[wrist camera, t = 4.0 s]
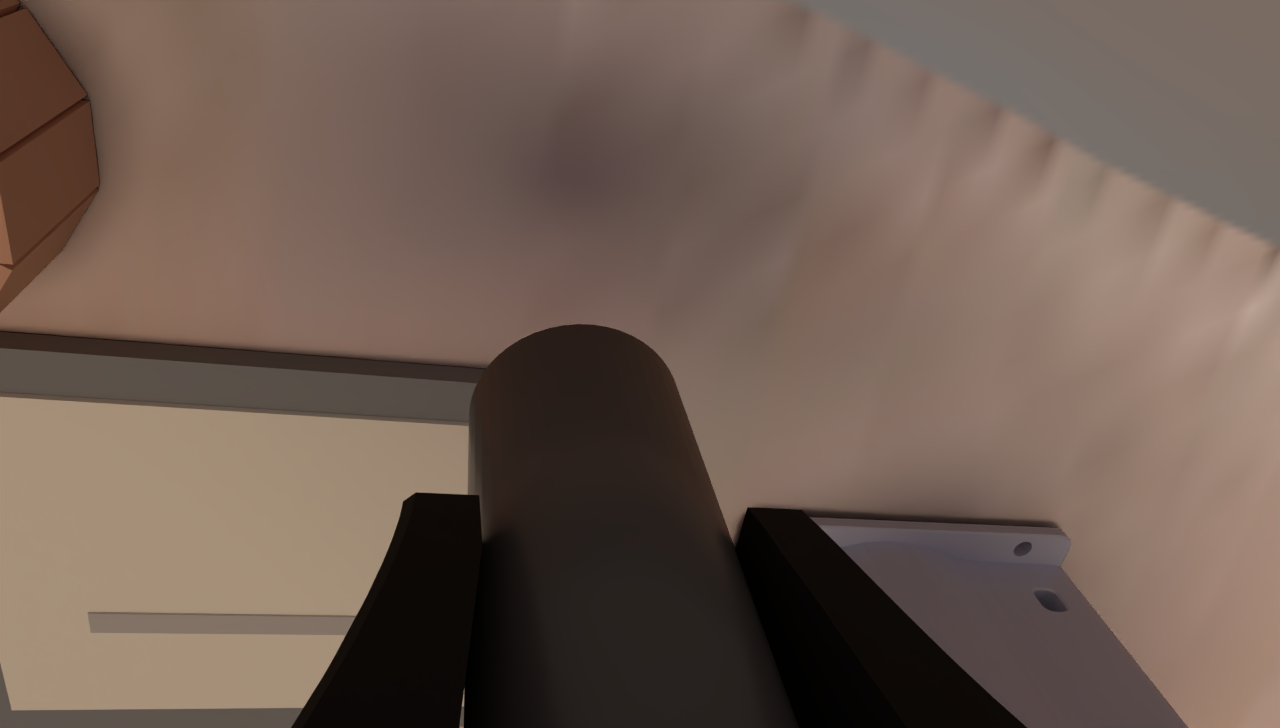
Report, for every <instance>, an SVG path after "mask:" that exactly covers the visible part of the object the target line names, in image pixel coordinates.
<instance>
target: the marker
mask: <svg viewBox="0 0 1280 728" xmlns="http://www.w3.org/2000/svg"><path fill="white" fill-rule="evenodd" d="M468 495H479V499H480V512H481V529H482V552H481V560H480V567H479V575H478V583H477V591H476V599H475V607H474V615H473V623H472V631H471V639H470V646H469V654H468V662H467V670H466V678H465V686H464V728H799V726H798V723H797V720H796V718H795V715H794V712H793V709H792V706H791V704H790V701H789V698H788V695H787V692H786V690H785V687H784V684H783V681H782V679H781V676H780V673H779V670H778V667H777V665H776V662H775V659H774V656H773V654H772V651H771V648H770V645H769V642H768V640H767V637H766V634H765V631H764V628H763V626H762V623H761V620H760V617H759V615H758V612H757V609H756V606H755V603H754V601H753V598H752V595H751V592H750V589H749V587H748V584H747V581H746V578H745V576H744V573H743V570H742V567H741V564H740V562H739V559H738V556H737V553H736V550H735V548H734V545H733V542H732V539H731V537H730V534H729V531H728V528H727V525H726V523H725V520H724V517H723V514H722V511H721V509H720V506H719V503H718V500H717V498H716V495H715V492H714V489H713V486H712V484H711V481H710V478H709V475H708V472H707V470H706V467H705V464H704V461H703V459H702V456H701V453H700V450H699V447H698V445H697V442H696V439H695V436H694V434H693V431H692V428H691V425H690V422H689V420H688V417H687V414H686V411H685V408H684V406H683V403H682V400H681V397H680V395H679V392H678V389H677V386H676V383H675V381H674V378H673V376H672V374H671V372H670V370H669V368H668V367H667V366H666V364H665V363H664V361H663V360H662V359H661V358H660V357H659V355H658V354H657V353H656V352H655V351H654V350H653V349H651V348H650V347H649V346H647V345H646V344H645V343H644V342H642V341H640V340H638V339H637V338H635V337H633V336H631V335H629V334H627V333H624V332H622V331H619V330H616V329H612V328H608V327H604V326H597V325H583V324H576V325H564V326H558V327H553V328H549V329H545V330H542V331H539V332H536V333H534V334H531V335H529V336H527V337H525V338H523V339H521V340H519V341H518V342H516V343H514V344H513V345H511V346H509V347H508V348H507V349H506V350H504V351H503V352H502V353H501V354H499V355H498V356H497V357H496V358H495V359H494V360H493V361H492V362H491V363H490V365H489V366H488V367H487V368H486V370H485V371H484V373H483V374H482V375H481V377H480V379H479V381H478V383H477V385H476V387H475V389H474V392H473V395H472V398H471V403H470V408H469V438H468Z"/></svg>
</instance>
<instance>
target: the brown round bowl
mask: <svg viewBox="0 0 1280 728" xmlns="http://www.w3.org/2000/svg"><path fill="white" fill-rule="evenodd" d="M19 4H20V2H19V1H18V0H0V312H1V311H2V310H3V309H4V308H5V307H6V306H7V305H8V304H9V303H10V302H11V301H12V300H13V299H14V298H15V297H16V296H17V295H18V294H19V293H20V292H21V291H22V290H23V289H24V288H25V287H26V286H27V285H28V284H29V283H30V282H31V281H32V280H33V279H34V278H35V277H36V276H37V275H38V274H39V273H40V272H41V271H42V270H43V269H44V268H45V267H46V266H47V265H48V264H49V263H50V262H51V261H52V260H53V259H54V258H55V257H56V256H57V255H58V254H59V253H60V252H61V251H62V250H63V248H64V247H65V245H66V243H67V242H68V240H69V238H70V237H71V235H72V233H73V232H74V230H75V228H76V226H77V225H78V223H79V221H80V220H81V218H82V216H83V215H84V213H85V211H86V210H87V208H88V206H89V205H90V203H91V201H92V200H93V198H94V196H95V195H96V193H97V191H98V190H99V189H97V188H96V187H97V186H98V185H99V184H100V182H99V174H98V166H97V157H96V149H95V140H94V132H93V124H92V115H91V107H90V101H85V100H81V99H82V98H84V97H85V96H87V94H86V92H85V91H84V89H83V88H82V87H81V85H80V84H79V82H78V81H77V79H76V78H75V77H74V75H73V74H72V72H71V71H70V69H69V68H68V67H67V65H66V64H65V62H64V61H63V59H62V58H61V57H60V55H59V54H58V52H57V51H56V49H55V48H54V47H53V45H52V44H51V42H50V41H49V39H48V38H47V37H46V35H45V34H44V32H43V31H42V29H41V28H40V27H39V25H38V24H37V22H36V21H35V19H34V18H33V17H32V15H31V14H30V12H29V11H28V9H27V8H25V9H22V10H19V11H17V12H16V10H17V8H18V6H19Z"/></svg>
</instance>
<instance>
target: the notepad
mask: <svg viewBox="0 0 1280 728" xmlns="http://www.w3.org/2000/svg"><path fill="white" fill-rule="evenodd" d="M485 370H486V369H476V368H463V367H450V366H438V365H425V364H412V363H399V362H386V361H373V360H360V359H347V358H334V357H321V356H308V355H295V354H282V353H269V352H256V351H243V350H230V349H217V348H204V347H192V346H179V345H166V344H153V343H140V342H127V341H114V340H101V339H88V338H75V337H62V336H49V335H36V334H23V333H10V332H0V728H291V727H292V725H293V724H294V722H295V720H296V719H297V717H298V716H299V714H300V712H301V711H302V709H303V708H304V706H305V704H306V703H307V701H308V700H309V698H310V696H311V695H312V693H313V692H314V690H315V688H316V687H317V685H318V684H319V682H320V680H321V679H322V677H323V675H324V674H325V672H326V670H327V669H328V667H329V665H330V663H331V662H332V660H333V658H334V656H335V655H336V653H337V651H338V649H339V647H340V645H341V643H342V642H343V640H344V638H345V636H346V634H347V632H348V630H349V628H350V627H351V625H352V623H353V621H354V619H355V617H356V615H357V614H358V612H359V610H360V608H361V606H362V604H363V602H364V600H365V599H366V597H367V595H368V593H369V590H370V588H371V586H372V584H373V582H374V580H375V578H376V575H377V573H378V571H379V569H380V567H381V565H382V562H383V560H384V558H385V555H386V553H387V551H388V548H389V546H390V543H391V541H392V538H393V535H394V532H395V529H396V526H397V524H398V521H399V517H400V513H401V509H402V504H403V501H404V500H406V499H407V498H409V497H410V496H411V495H413V494H414V493H416V492H419V493H441V494H464V495H468V438H469V408H470V403H471V398H472V395H473V392H474V389H475V387H476V385H477V383H478V381H479V379H480V377H481V375H482V374H483V373H484V371H485ZM459 726H464V694H463V702H462V710H461V717H460V725H459Z"/></svg>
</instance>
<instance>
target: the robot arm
mask: <svg viewBox="0 0 1280 728" xmlns="http://www.w3.org/2000/svg"><path fill="white" fill-rule="evenodd" d="M1070 546H1071V541H1070V539H1069V538H1068V537H1067V535H1066V534H1065V533H1064V532H1063V531H1062V530H1061V529H1058V528H1049V527H1025V526H1002V525H979V524H956V523H933V522H909V521H886V520H863V519H840V518H816V517H809V516H808V515H807V514H806V513H804V512H803V511H802V510H794V509H772V508H750V507H748V508H747V512H746V515H745V518H744V521H743V524H742V528H741V530H740V534H739V537H738V540H737V543H736V547H735V550H736V553H737V556H738V559H739V562H740V564H741V567H742V570H743V573H744V576H745V578H746V581H747V584H748V587H749V589H750V592H751V595H752V598H753V601H754V603H755V606H756V609H757V612H758V615H759V617H760V620H761V623H762V626H763V628H764V631H765V634H766V637H767V640H768V642H769V645H770V648H771V651H772V654H773V656H774V659H775V662H776V665H777V667H778V670H779V673H780V676H781V679H782V681H783V684H784V687H785V690H786V692H787V695H788V698H789V701H790V704H791V706H792V709H793V712H794V715H795V718H796V720H797V723H798V726H799V728H1188V727H1187V725H1186V724H1185V723H1184V722H1183V720H1182V719H1181V718H1180V717H1179V715H1178V714H1177V713H1176V712H1175V710H1174V709H1173V708H1172V707H1171V705H1170V704H1169V703H1168V702H1167V700H1166V699H1165V698H1164V697H1163V695H1162V694H1161V693H1160V691H1159V690H1158V689H1157V688H1156V686H1155V685H1154V684H1153V683H1152V681H1151V680H1150V679H1149V678H1148V676H1147V675H1146V674H1145V673H1144V671H1143V670H1142V669H1141V668H1140V666H1139V665H1138V664H1137V663H1136V661H1135V660H1134V659H1133V657H1132V656H1131V655H1130V654H1129V652H1128V651H1127V650H1126V649H1125V647H1124V646H1123V645H1122V644H1121V642H1120V641H1119V640H1118V639H1117V637H1116V636H1115V635H1114V634H1113V632H1112V631H1111V630H1110V629H1109V627H1108V626H1107V625H1106V624H1105V622H1104V621H1103V620H1102V618H1101V617H1100V616H1099V615H1098V613H1097V612H1096V611H1095V610H1094V608H1093V607H1092V606H1091V605H1090V603H1089V602H1088V601H1087V600H1086V598H1085V597H1084V596H1083V595H1082V593H1081V592H1080V591H1079V590H1078V588H1077V587H1076V586H1075V584H1074V583H1073V582H1072V581H1071V579H1070V578H1069V577H1068V576H1067V574H1066V573H1065V572H1064V571H1063V569H1062V568H1061V567H1060V566H1061V564H1062V562H1063V560H1064V559H1065V557H1066V555H1067V553H1068V551H1069V549H1070ZM481 552H482V529H481V512H480V499H479V495H464V494H441V493H419V492H416V493H414V494H413V495H411V496H410V497H409V498H407V499H406V500H404V501H403V504H402V509H401V513H400V517H399V521H398V524H397V526H396V529H395V532H394V535H393V538H392V541H391V543H390V546H389V548H388V551H387V553H386V555H385V558H384V560H383V562H382V565H381V567H380V569H379V571H378V573H377V575H376V578H375V580H374V582H373V584H372V586H371V588H370V590H369V593H368V595H367V597H366V599H365V600H364V602H363V604H362V606H361V608H360V610H359V612H358V614H357V615H356V617H355V619H354V621H353V623H352V625H351V627H350V628H349V630H348V632H347V634H346V636H345V638H344V640H343V642H342V643H341V645H340V647H339V649H338V651H337V653H336V655H335V656H334V658H333V660H332V662H331V663H330V665H329V667H328V669H327V670H326V672H325V674H324V675H323V677H322V679H321V680H320V682H319V684H318V685H317V687H316V688H315V690H314V692H313V693H312V695H311V696H310V698H309V700H308V701H307V703H306V704H305V706H304V708H303V709H302V711H301V712H300V714H299V716H298V717H297V719H296V720H295V722H294V724H293V725H292V727H291V728H459V725H460V717H461V710H462V702H463V694H464V686H465V678H466V670H467V662H468V654H469V646H470V639H471V631H472V623H473V615H474V607H475V599H476V591H477V583H478V575H479V567H480V560H481Z"/></svg>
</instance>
